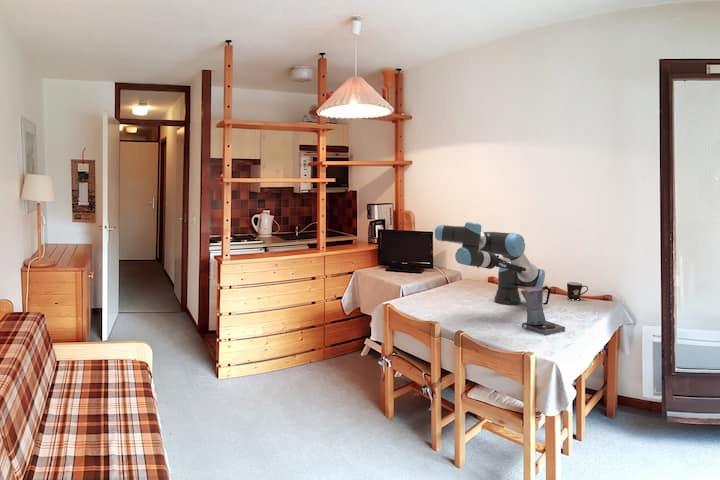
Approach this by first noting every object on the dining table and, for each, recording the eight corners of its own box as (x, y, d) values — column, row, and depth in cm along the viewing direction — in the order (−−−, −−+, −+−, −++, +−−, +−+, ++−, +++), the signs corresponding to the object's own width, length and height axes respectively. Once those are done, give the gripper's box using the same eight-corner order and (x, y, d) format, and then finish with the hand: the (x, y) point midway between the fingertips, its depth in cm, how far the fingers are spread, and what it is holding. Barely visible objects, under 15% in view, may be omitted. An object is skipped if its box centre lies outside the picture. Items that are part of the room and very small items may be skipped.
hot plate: (541, 323, 238) (542, 318, 238) (565, 330, 226) (565, 326, 226) (520, 327, 231) (520, 322, 231) (543, 335, 219) (543, 330, 219)
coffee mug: (565, 300, 285) (565, 284, 283) (567, 297, 292) (568, 281, 291) (585, 302, 279) (586, 286, 277) (587, 299, 286) (588, 283, 285)
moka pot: (517, 322, 234) (515, 283, 232) (545, 318, 237) (543, 279, 234) (527, 327, 225) (525, 287, 222) (556, 323, 227) (555, 283, 225)
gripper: (466, 260, 226) (499, 265, 236) (501, 276, 204) (535, 281, 214) (470, 245, 225) (503, 251, 235) (506, 259, 203) (540, 265, 213)
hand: (518, 265), depth 224 cm, fingers open, 13 cm apart
